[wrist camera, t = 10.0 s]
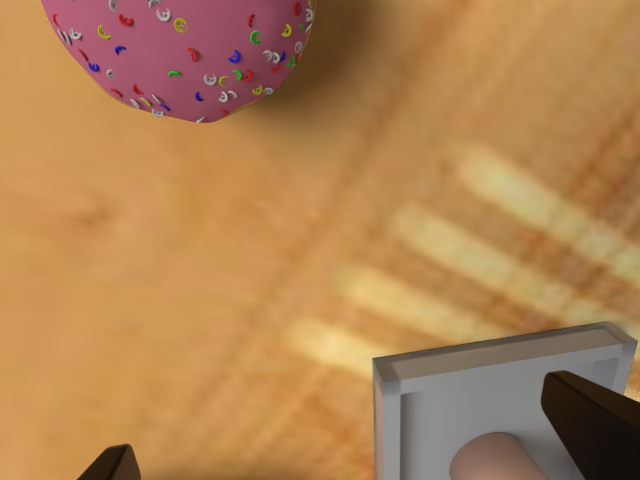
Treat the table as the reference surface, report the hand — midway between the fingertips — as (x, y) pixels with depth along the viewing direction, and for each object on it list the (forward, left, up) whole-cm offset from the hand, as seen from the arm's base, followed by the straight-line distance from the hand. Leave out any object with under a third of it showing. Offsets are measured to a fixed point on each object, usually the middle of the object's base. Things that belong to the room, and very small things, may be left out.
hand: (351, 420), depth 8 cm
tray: (-12, +19, -13) cm, 26 cm away
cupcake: (+3, -10, -13) cm, 17 cm away
